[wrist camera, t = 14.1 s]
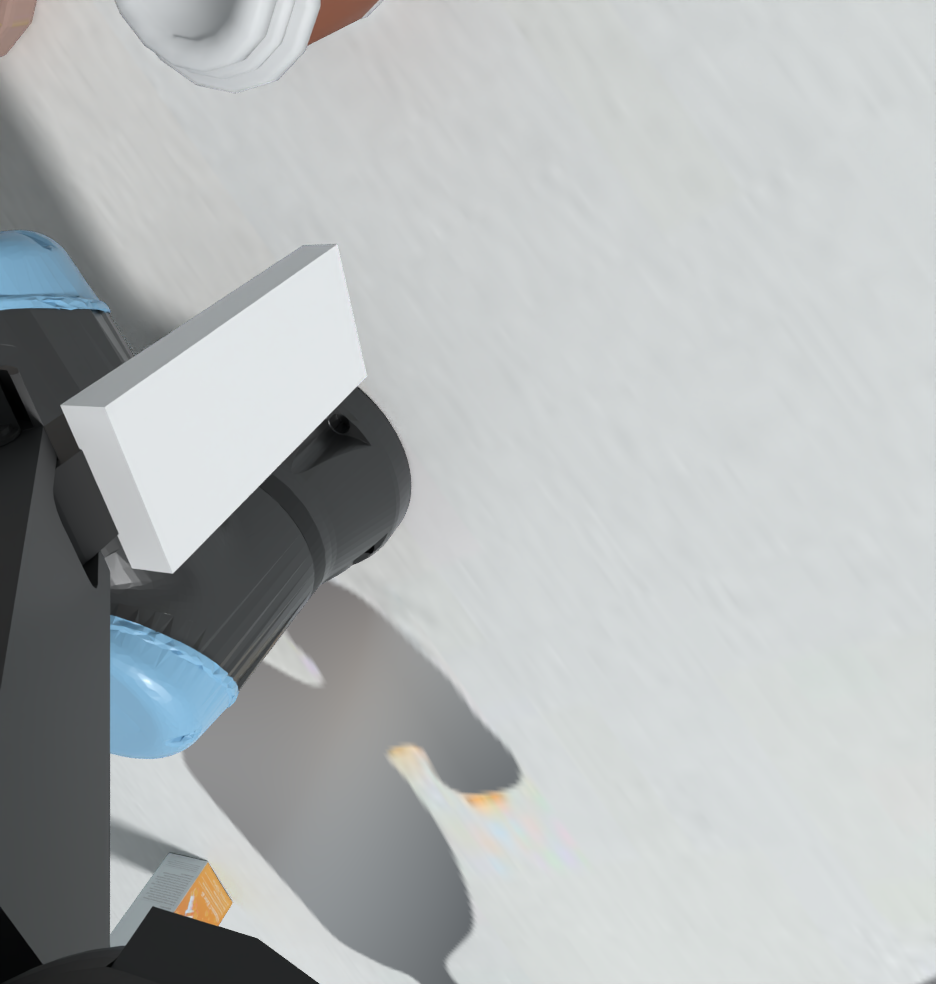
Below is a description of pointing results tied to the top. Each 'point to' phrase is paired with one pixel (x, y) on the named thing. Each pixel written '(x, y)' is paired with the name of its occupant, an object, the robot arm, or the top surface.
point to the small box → (176, 896)
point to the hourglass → (14, 21)
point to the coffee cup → (236, 35)
